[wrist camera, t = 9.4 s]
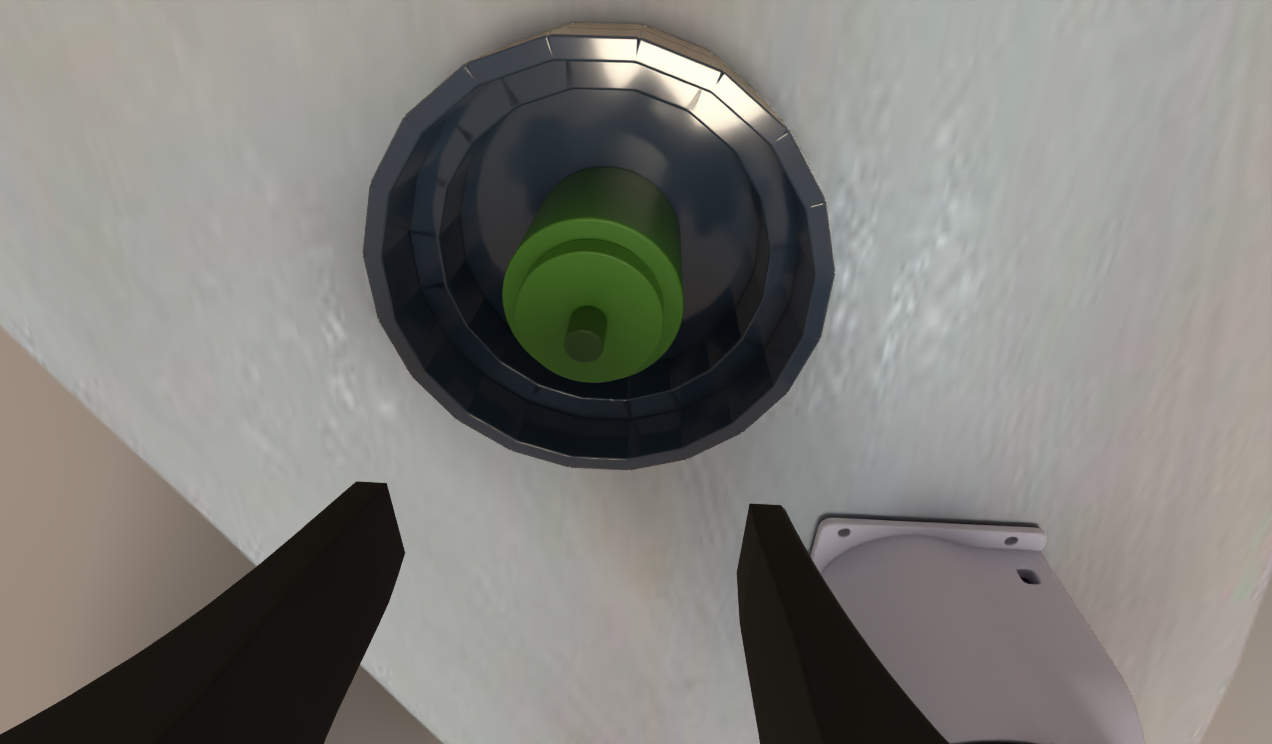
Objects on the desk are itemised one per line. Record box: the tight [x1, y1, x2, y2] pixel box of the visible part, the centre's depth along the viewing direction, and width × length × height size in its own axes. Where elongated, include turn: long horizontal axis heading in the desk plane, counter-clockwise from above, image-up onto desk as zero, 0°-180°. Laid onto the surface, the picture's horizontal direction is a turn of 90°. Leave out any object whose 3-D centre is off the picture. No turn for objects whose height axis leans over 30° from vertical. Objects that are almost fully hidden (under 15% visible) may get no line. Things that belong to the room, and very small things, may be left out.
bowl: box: [363, 23, 835, 470], centre depth 18 cm, size 12×12×4 cm
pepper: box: [502, 167, 684, 383], centre depth 16 cm, size 5×5×7 cm
